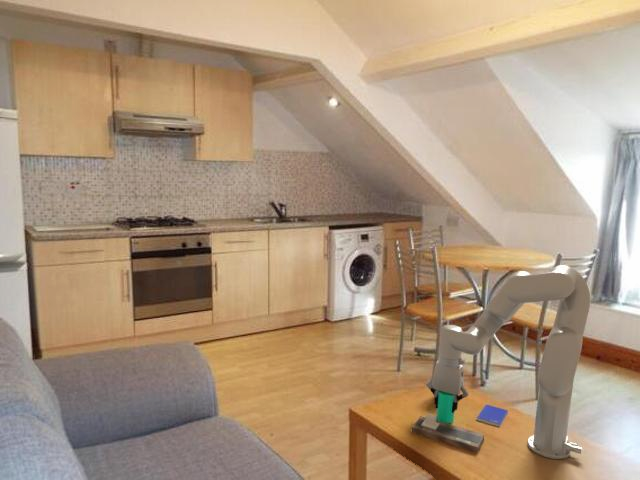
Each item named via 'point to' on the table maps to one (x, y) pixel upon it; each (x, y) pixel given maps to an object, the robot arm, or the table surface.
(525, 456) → the table surface
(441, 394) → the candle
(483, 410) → the hard drive
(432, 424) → the switch tab
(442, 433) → the switch board
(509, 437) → the table surface
